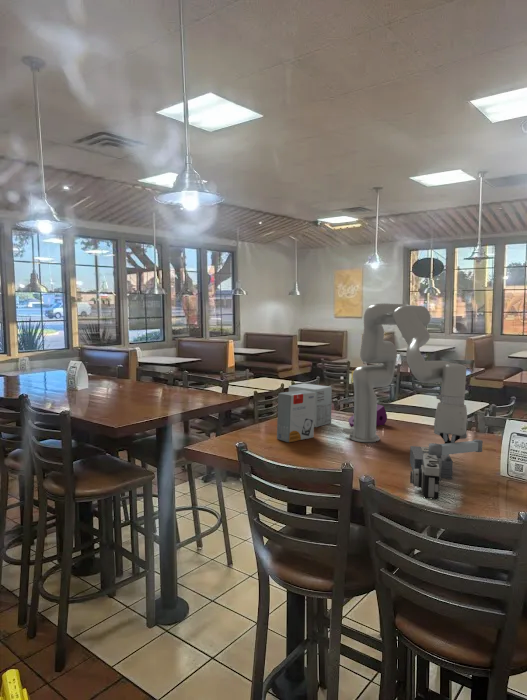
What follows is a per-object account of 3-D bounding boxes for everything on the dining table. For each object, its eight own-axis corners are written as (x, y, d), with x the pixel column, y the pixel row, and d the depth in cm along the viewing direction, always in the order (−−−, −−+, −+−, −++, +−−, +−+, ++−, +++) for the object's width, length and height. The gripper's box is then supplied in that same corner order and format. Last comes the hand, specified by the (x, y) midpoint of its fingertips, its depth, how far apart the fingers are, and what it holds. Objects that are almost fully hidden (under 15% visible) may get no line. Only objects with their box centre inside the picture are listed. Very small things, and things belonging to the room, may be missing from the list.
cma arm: (425, 454, 166) (426, 443, 166) (476, 448, 173) (476, 438, 173) (433, 457, 162) (434, 447, 162) (485, 452, 170) (485, 441, 169)
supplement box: (332, 423, 244) (333, 386, 242) (316, 427, 234) (317, 389, 232) (303, 417, 255) (304, 382, 253) (287, 421, 245) (287, 385, 243)
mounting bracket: (363, 440, 235) (388, 420, 242) (357, 425, 232) (384, 406, 240) (349, 436, 243) (375, 417, 250) (344, 421, 240) (370, 402, 248)
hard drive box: (288, 443, 206) (289, 395, 205) (276, 439, 212) (276, 392, 211) (314, 437, 217) (315, 391, 215) (301, 433, 222) (302, 389, 221)
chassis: (415, 479, 165) (416, 456, 164) (409, 462, 184) (410, 441, 183) (453, 482, 163) (454, 459, 162) (443, 464, 181) (444, 443, 181)
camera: (409, 481, 163) (410, 451, 162) (436, 484, 161) (437, 453, 160) (410, 497, 150) (411, 464, 149) (439, 500, 148) (440, 467, 147)
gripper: (427, 399, 171) (424, 451, 173) (473, 405, 163) (470, 459, 165) (432, 395, 177) (429, 446, 179) (478, 401, 169) (474, 454, 171)
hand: (449, 452), depth 172 cm, fingers closed
